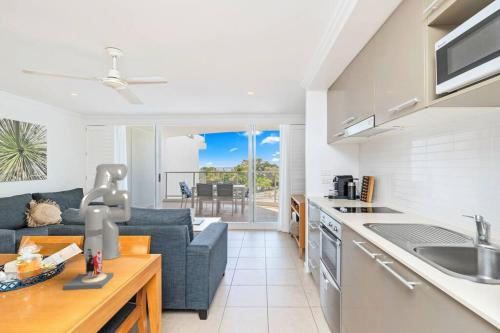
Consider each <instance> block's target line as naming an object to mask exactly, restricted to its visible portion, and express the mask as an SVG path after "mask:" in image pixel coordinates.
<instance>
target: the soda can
mask: <svg viewBox="0 0 500 333" xmlns="http://www.w3.org/2000/svg"><path fill="white" fill-rule="evenodd" d="M89 257H92V255H90V256H89ZM89 259H91V260H92V258H89ZM93 263H94V271H92V272H87V264H86V263H85V274H86V275H87V276H90V277H93V276H97V275H99V274H100V273H103V259H102V252H101V250H100V251H97V254H96V256H95V257H94V261H93Z"/></svg>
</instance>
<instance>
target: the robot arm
mask: <svg viewBox="0 0 500 333" xmlns="http://www.w3.org/2000/svg"><path fill="white" fill-rule="evenodd" d="M95 168H96V169H95V170H96V173H95V177H94V183H93V188H92V189H90V190H89V191H88V192H87V193H86V194H85V195H84V196H83V197H82V199H81V201H80V204H79V208H78V218H79V220H81V221H84V226H85V228H84V230H85V232H84V238H85V239H84V246H83V258H84V260H85V265H86V264H87V272H92V271H94V263H93V261H94V257H95V256H96V254H97V251H100V250H101V252H102V261H103V260H105V261H106V260H108V261H109V260H113V259H118V258H120V257H121V256H122V252H120V250H119V249H120V246H119V230H120V229H119V226H118V225H117V224H116V223H121V222H122V223H123V222H128V221H130V219H131V214H132V213H131V192H130V191H128V190H127V189H123V190H122V189H121V190H119V188H118V186H119V185H118V181H123V180H124V179H125V178H126V176H127V175H128V167H127V165H126V164H124V163H101V164H98V165H97V166H96V167H95ZM101 197H102V201H103V205H102V204H101V205H100V204H99V205H97V204H96V205H89V204H90V203H91V202H93V201H95V200H97V199H99V198H101ZM109 206H110V207H109ZM112 206H113V207H112ZM90 255H92V257H89V256H90ZM89 258H92V260H91V259H89Z"/></svg>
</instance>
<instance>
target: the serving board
mask: <svg viewBox="0 0 500 333" xmlns="http://www.w3.org/2000/svg"><path fill="white" fill-rule="evenodd" d="M112 278H114V272H101V273H100V274H99V275H97V276H93V277H90V276H87V275H86V273H79V274H77V275H76V276H74V277H73V278H72V279H71V280H69V281H68V282H67V283H65V284H64V285H63V291H75V290H77V291H78V290H95V289H98V290H100V289H103V288H104V287H105V285H106V284H108V283H109V281H111V279H112Z"/></svg>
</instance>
